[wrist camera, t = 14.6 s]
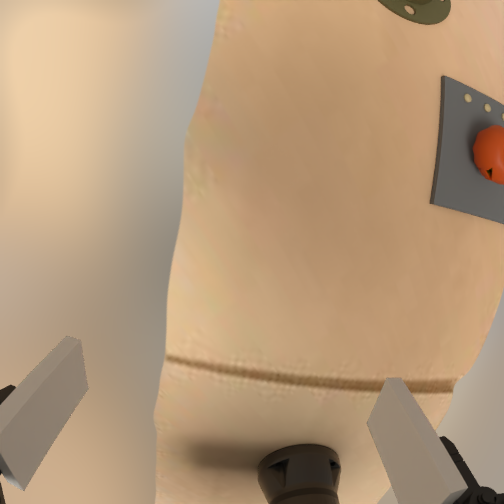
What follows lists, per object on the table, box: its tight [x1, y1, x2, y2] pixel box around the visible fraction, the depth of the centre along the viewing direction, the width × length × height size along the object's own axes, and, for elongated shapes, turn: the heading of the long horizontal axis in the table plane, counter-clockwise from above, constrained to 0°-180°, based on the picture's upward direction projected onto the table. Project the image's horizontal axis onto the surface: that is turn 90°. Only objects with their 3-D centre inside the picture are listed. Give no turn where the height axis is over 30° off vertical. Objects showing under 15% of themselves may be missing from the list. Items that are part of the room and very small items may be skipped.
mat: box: [430, 76, 504, 224], centre depth 34 cm, size 18×16×1 cm
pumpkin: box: [473, 125, 504, 185], centre depth 30 cm, size 8×8×7 cm
